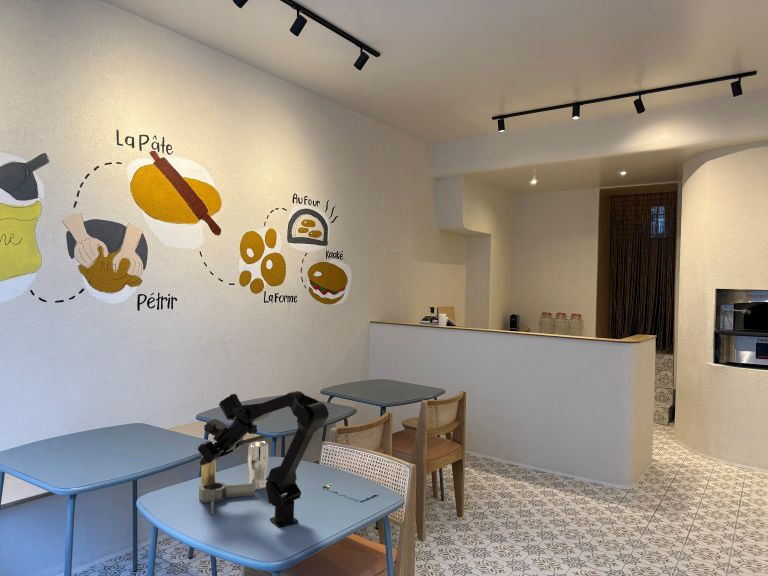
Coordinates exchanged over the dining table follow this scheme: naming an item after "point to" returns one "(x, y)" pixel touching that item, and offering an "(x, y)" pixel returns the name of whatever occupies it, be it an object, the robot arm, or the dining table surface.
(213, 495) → the grey ring with arms
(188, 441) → the dining table surface
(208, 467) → the hinge pin
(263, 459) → the beer glass
